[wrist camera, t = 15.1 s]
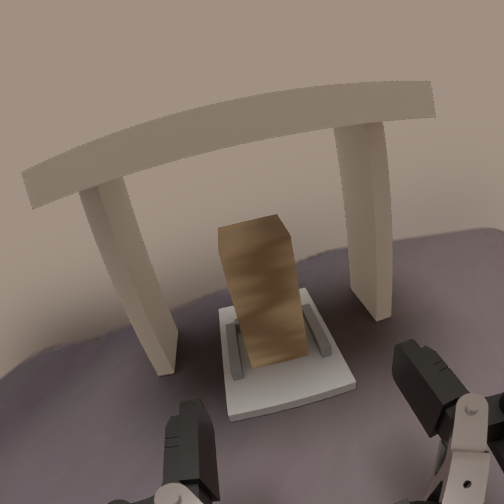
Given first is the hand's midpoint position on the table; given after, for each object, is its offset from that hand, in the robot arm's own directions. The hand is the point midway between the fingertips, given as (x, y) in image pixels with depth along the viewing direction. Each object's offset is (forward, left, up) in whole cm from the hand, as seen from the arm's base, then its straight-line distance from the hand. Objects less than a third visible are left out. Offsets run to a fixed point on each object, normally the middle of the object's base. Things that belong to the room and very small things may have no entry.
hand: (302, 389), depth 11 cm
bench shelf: (0, +12, -8) cm, 14 cm away
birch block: (0, +12, -7) cm, 14 cm away
